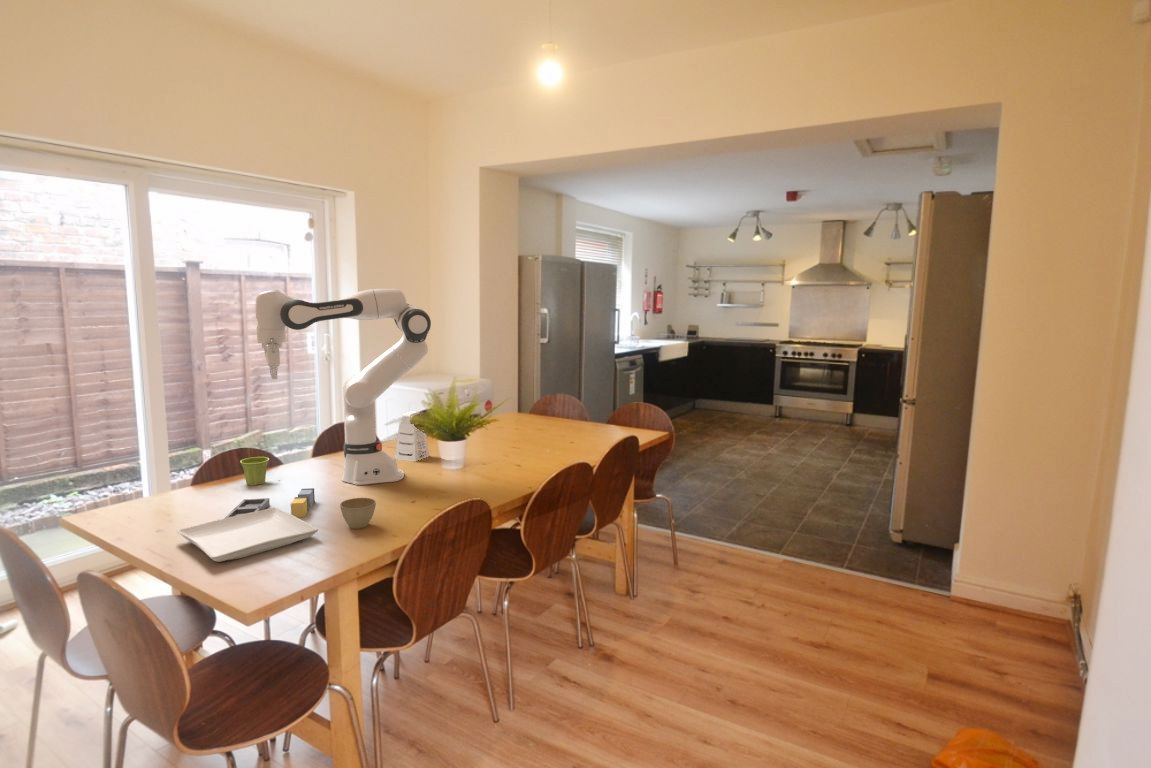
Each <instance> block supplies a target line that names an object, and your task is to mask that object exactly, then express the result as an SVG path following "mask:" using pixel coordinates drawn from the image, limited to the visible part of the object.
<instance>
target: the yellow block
mask: <svg viewBox="0 0 1151 768" xmlns="http://www.w3.org/2000/svg"><path fill="white" fill-rule="evenodd" d="M309 509H310V508H309V507H308V497H298V496H294V499H293V500H292V501H291V502H290V514H291V515H293V516H295V517H297V518H304V517H305V516H306V514H307V513H308V512H309Z"/></svg>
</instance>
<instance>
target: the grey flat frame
mask: <svg viewBox="0 0 1151 768" xmlns="http://www.w3.org/2000/svg"><path fill="white" fill-rule="evenodd" d="M269 506H270V498H269V497H268V498H267V497H265V498H246V499H243V500H241V501H240V502H239V504H237V505H236V506H235V507H234V508H233V509H232V510H231V511H230V512H229V513H227V515H226V516H225V517H224V518H229V517H233V516H237V515H242V514H247V513H251V512H256V511H261V510H266V509H268V508H269Z"/></svg>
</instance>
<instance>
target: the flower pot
mask: <svg viewBox="0 0 1151 768" xmlns="http://www.w3.org/2000/svg"><path fill="white" fill-rule="evenodd" d="M339 504H340V505H339V507H340V511H341V514H342V517H343V520H344V521H345V523H346V524H347V526H348V527H349V528H350V529H353V530H354V529H355V530H358V529H363V528H366V527H367V526H368V525H369V524H370V523H371V520H372V518H373V516H374V513H375V510H376V505H377V502H376V499H373V498H371V497H353V498H348V499H345V500H343V501H341V502H340V503H339Z"/></svg>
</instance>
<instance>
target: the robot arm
mask: <svg viewBox="0 0 1151 768" xmlns="http://www.w3.org/2000/svg"><path fill="white" fill-rule="evenodd" d="M255 318H256V321H257V324H256V325H257V326H256V337H257V338H256V339H257V344H261V348H262V349H263V351H264V355H265V356H264V357H265V360H266V363H267V366H268V367H269V371H270V372H269V373H270V377H271V379H272V380H278V367H280V366H281V355H280V349H282V348H283V343H284V344H285V343H287V337H286V327H287V328H289V329H291V330H294V331H301V330H305V329H306V328H308V327H310V326H312V325H313V324H315V323H318V322H323V321H324V322H325V321H330V320H337V319H338V320H339V319H352V320H357V321H358V320H359V321H374V320H381V319H393V320H394V323H395V325H396V327H397V328H398V329H399V330H400V331H401V332H402V335H401V338H400V339H399V340H398V342H396V343H395V344H393V345H392V346H391V347H390V348H388V349H387V350H385V351H384V352H383V353H381V354H380V355H379V356H378V357H376V358H375V359H374V360H373V361H371V363H370V364H368V365H367V366H365V368H364V369H362V371H360V372H359V373H357V374H353V375H351V376H350V377H348V378H347V379H346V381H345V382H344V384H343V388H342V389H343V391H342V392H343V393H342V394H343V414H344V415H343V416H344V418H343V421H344V443H343V456H344V467H343V473H342V477H341V481H342V482H344V483H349V484H353V485H356V486H362V485H371V484H372V485H373V484H381V483H392V482H394V483H395V482H399V481H401V480H402V479H403V478H404V477H405V472H404V471H403V469H399V467H398V463H397V460H395V457H393V456H392V455H390V454H388V453H386V451H384V450H383V444H382V441H379V440H377V432H376V431H377V429H376V428H377V427H376V426H377V424H376V422H377V421H376V408H375V407H376V406H375V404H376V403H375V401H376V399H378V398H379V397H380V396H381V395H382V394H383V393H385V392H386V391H387V390H388V389H389V388H390V387H391V386H392V385H393V384H395V382H397V381H398V380H400V378H402V377H403V376H404V375H406V374H407V373H408V372H409V371H410V370H412V369H414V368H415V366H417V365H418V363H420V362H421V361H422V359H424V357H425V356H426V355H427V354H428V351H429V348H428V347H429V346H428V344H427V342H426V339H427V337H428V334H429V331H430V330H431V324H432V323H431V322H432V320H431V318H430V315H429V314H428V313H427V312H426V311H424V310H423V309H422V308H420V307H418V306H414V305H411V304H408V303H407V299H406V295H405V294H404V293H403V291H402V290H401V289H398V288H386V287H385V288H382V287H381V288H369V289H364V290H360V291H357V292H354V293H352V294H349V295H348V296H346V297H344V298H341V299H337V300H329V301H321V302H309V301H306V300H302V299H297V298H294V297H291V296H289V295H288V294H285V293H284V292H282V291H280V290H277V289H275V290H268V291H264V292H263V291H262V292H259V294H257V296H256V298H255Z"/></svg>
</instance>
